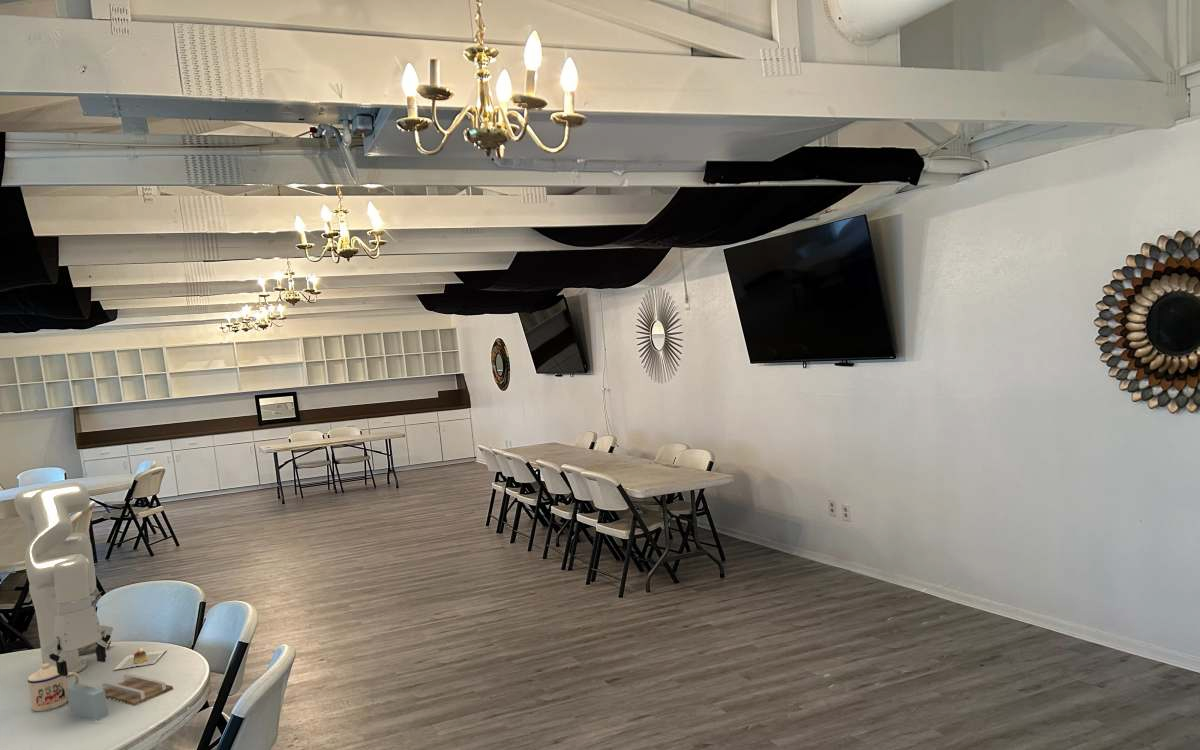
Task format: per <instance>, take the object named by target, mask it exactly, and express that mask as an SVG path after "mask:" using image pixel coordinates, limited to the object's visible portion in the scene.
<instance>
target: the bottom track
mask: <svg viewBox="0 0 1200 750" xmlns="http://www.w3.org/2000/svg"><path fill="white" fill-rule="evenodd" d="M173 689H174V686H173V685H168V684H166V682H165V681H161V680H158V679H157V680H156V679H153V678H149V677H144V676H141V675H138V674H137V675H136V674H132V673H128V672H126V673H123V681H121V682H118V683H114V682H110V681H103V682H102V690H105V696H106V697H108V698H107V699H109V698H111V699H110V700H112V699H115V700H114V701H116V700H118V701H117V702H120V701H122V702H121V703H123V702H125V703H124V704H127V703H129V704H128V705H130V704H132V705H131V706H134V705H135V706H137V705H139V704H141V702H142V703H144V702H146V701H148V699H149V700H150V699H153V698H156V697H159V696H160V695H163V694H165V693H167V692H170V691H171V690H173ZM143 701H144V702H143ZM138 703H139V704H138ZM136 704H137V705H136Z"/></svg>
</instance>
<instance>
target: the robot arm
mask: <svg viewBox="0 0 1200 750" xmlns="http://www.w3.org/2000/svg"><path fill="white" fill-rule="evenodd" d="M13 499H14V500H13V503H14V507H15V510H16V513H17V514H18V516H19V518H20V519H21V520H22V522H23V523H24V526H25V527H26V530H27V535H28V537H27V538H28V546H27V548H26V550H25V555H24V565H25V571H26V574H27V578H28V579H27V580H28V583H29V586H28V589H29V590H28V591H29V594H30V598H31V601H32V604H33V607H34V610H35V616H36V622H37V631H38V636H39V645H40V651H41V653H40V654H41V659H42V661H41V662H42V665H43V664H47V663H49V664H50V666H55V667H57V672H58V674H59V675H60V676H67V675H68V673H71V672H74V673H77V674H78V673H79V672H81V671H83V670H84V669H85V668H86V667H87V662H86V661H84V660H80V654H79V651H78V649H80V648H83V647H86V646H89V645H92V644H96V645H97V647H96V649H95V653H96V656H95V657H96V661H97V662H98V663H99V662H100V663H105V662H106V661H107V660H106V658H107V651H106V650H107V649H106V647H108V646H107V645H108V644H107V643H109V642H110V640H111V639H112V637H111V635H112V633H113V631H114V627H112V626H107V625H101V624H100V621H99V617H98V613H97V611H96V609H95V607H94V605H93V603H92V602H94V601H96V600H97V599H96V596H95V595H91V594H93V593H94V592H95V590H96V588H97V577H96V569H95V562H94V555H93V547H92V543H91V540H90V537H89V536H88V535H87V534H86V533H83V532H73V530H74V526H73V523H72V520H71V517H70V516H71V515H72V514H77V513H80V512H86V511H87V510H88V509H89V507H90V505H91V504H90V502H91V500H90V494H89V491H88V489H87V487H86V486H85V485H84V484H83V483H80V482H75V481H74V482H69V483H61V484H55V485H50V486H49V485H48V486H43V487H36V488H30V489H26V490H24V491H21V492H18V493H17V494H16V495H15V496H14V498H13ZM70 514H71V515H70ZM101 630H103V631H105V635H104V636H103V637H102V639H101ZM67 677H68V676H67Z"/></svg>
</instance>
